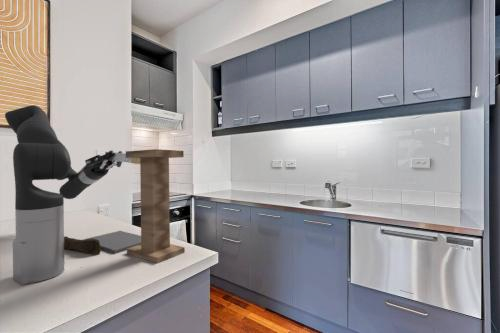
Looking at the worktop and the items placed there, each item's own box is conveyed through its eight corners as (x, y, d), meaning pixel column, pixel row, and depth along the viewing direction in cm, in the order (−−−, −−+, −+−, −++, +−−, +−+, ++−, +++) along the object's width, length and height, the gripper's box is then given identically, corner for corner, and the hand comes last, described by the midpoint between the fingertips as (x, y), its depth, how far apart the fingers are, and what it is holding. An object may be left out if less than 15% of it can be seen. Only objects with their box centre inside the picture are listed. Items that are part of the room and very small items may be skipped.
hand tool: (54, 249, 81) (54, 235, 81) (67, 246, 84) (67, 232, 84) (90, 258, 73) (90, 243, 73) (103, 254, 77) (103, 239, 77)
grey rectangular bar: (137, 163, 82) (137, 155, 82) (102, 159, 92) (102, 151, 92) (149, 164, 86) (149, 155, 86) (114, 160, 96) (115, 152, 96)
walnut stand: (157, 263, 68) (156, 149, 68) (126, 253, 76) (125, 151, 76) (184, 252, 76) (183, 150, 76) (154, 244, 84) (153, 152, 84)
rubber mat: (115, 253, 76) (115, 250, 76) (81, 242, 88) (81, 239, 88) (153, 241, 88) (153, 238, 88) (119, 233, 99) (119, 230, 99)
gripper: (72, 163, 93) (95, 142, 86) (108, 164, 106) (131, 145, 98) (76, 181, 92) (100, 161, 84) (112, 179, 104) (136, 162, 97)
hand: (117, 153), depth 91 cm, fingers closed on grey rectangular bar, 3 cm apart
